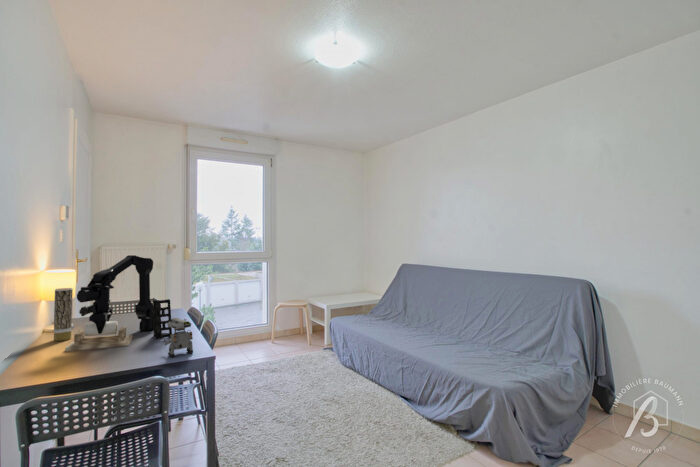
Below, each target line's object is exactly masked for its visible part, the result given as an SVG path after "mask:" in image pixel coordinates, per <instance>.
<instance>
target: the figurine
mask: <svg viewBox="0 0 700 467" xmlns="http://www.w3.org/2000/svg"><path fill="white" fill-rule="evenodd" d="M166 325H167V327H171V328H172V329H173V330H174V332H173V333H172V334H171V335H170V337H169V338H170V339H168V340H167V341H166V340H165V338H163V342H164V346H168V345H169V347H168V353H167V355H168V357H169V356H170V358H171V357H173V358H174V357H175V356H176V355H175V350H176V351H177V350H183V349H186V352H187V351H188V352H187V353H188V354H190V353H191V354H193V353H194V348H193V341H192V340H193V331H192V330H191V329H187V331H186V328H191V326H192V323H191V322H190V321H188V320H187V318H184V319H181V318H178V317H173V318H171V320H170V321H169V322H168V323H166Z"/></svg>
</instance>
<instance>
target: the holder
mask: <svg viewBox="0 0 700 467" xmlns="http://www.w3.org/2000/svg"><path fill="white" fill-rule="evenodd" d="M152 304H153V316H154V320H153V327H154V328H153V329H154V330H153V337H154V338H156V339H158V338H160V339H162V338H163V339H165V338H171V337H170V335H171V334H173V330H172V329H173V328H171V327H168V326H167V327H166V325H167V323H168V322H169V321H170V320H171V319H172V314H171V312H172V310H171V309H172V308H171V300H170V299H161V300H159V299H155V297H153V298H152ZM161 304H167V306H163V307H161ZM165 311H167V313H165ZM164 317H165V318H166V317H168V319H167V320H162V318H164ZM162 331H163V332H164V331H168V332H164V333H163V332H162Z"/></svg>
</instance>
